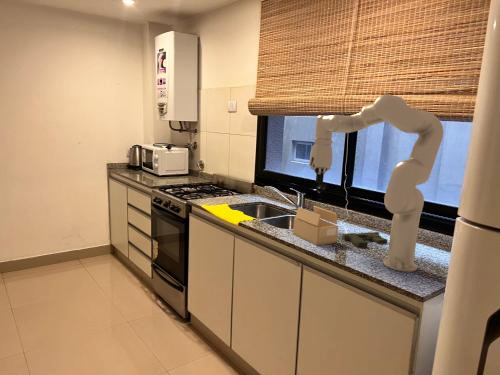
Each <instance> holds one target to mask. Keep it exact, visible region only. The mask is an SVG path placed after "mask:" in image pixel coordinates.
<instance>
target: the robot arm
mask: <svg viewBox="0 0 500 375" xmlns="http://www.w3.org/2000/svg"><path fill="white" fill-rule="evenodd" d="M385 122H386V123H388V124H389V125H391V126H393V127H394V128H396V129H397V130H399V131H401V132H402V133H403V132H404V133H406V134H412V135H413V134H414V135H418V136H417V139H416V140H415V142H414V144H413V147H412V150H411V153H410V156H409V158H408V159H404V160H401V161H400V162H398V163H397V164H396V165H395V167H394V168H393V170H392V172H391V176H390V178H389V180H388V184H387V187H386V191H385V193H384V196H383V199H384V203H383V204H384V206H385V209H386V210H387V211H388V212H389V213H391V214H393V216H392V220H391V227H390V233H389V234H390V237H389V244H388V245H389V246H388V252H387V257H386V258H384V259H382V264H383V266H385V267H386V268H389V269H391V270H395V271H399V272H404V273H408V272H409V273H412V272H415V271H417V270H418V265H417V264H416V263H415V262H414V261H415V252H416V245H417V240H418V239H417V238H418V231H419V227H420V226H419V225H420V218H421V215H422V212H423V208H424V203H425V200H424V199H425V198H424V197H425V196H424V194H423V193H422V191H421V190H420V189H419V188H418V187H416V186H420V185H422V184H426V182H428V180H429V179H430V177H431V174H432V171H433V168H434V165H435V162H436V159H437V155H438V153H439V150H440V148H441V145H442V141H443V138H444V127H443V124H442V123H443V122H441V120H440V119H439V118H438V117H437V116H436V115H435V114H433V113H432V112H429V111H426V110H421V109H415V108H413V107H411V106H408V104H407V102H406V100H405V99H404V98H402V97H401V96H398V95H394V94H393V95H392V94H383V95H381V96H379V97H378V98H376V100H375V101H374V102H372V103H369V104H366V105H364V106H363V107H362V108H361V111H360V112H358V113H355V114H351V115H343V114H342V115H341V114H331V115H327V114H326V115H325V114H322V115H318V116H317V117H316V122H315V132H314V133H315V134H314V135H315V136H314V144H313V145H312V147H311V151H310V157H309V161H308V164H309V166H310V170H312V171H314V173H315V174H316V175H315V183H318V184H322V183H324V177H325V174H326V172H327V171H330V170H331V167H332V164H333V147H332V144H333V140H332V138H333V133H339V134H340V133H341V134H350V133H354V132H357V131H361V130H364V129H367V128H369V127H370V126H374V125H378V124H382V123H385Z"/></svg>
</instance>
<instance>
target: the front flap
mask: <svg viewBox="0 0 500 375" xmlns="http://www.w3.org/2000/svg"><path fill="white" fill-rule="evenodd" d="M320 216H321V215H320V214H317V213H314V211H311V210H309V209H305V208H302V207H300V206H298V207H297V211H296V215H295V217H296V218H299V219H301V220H304V221H306V222H308V223H311V224H313V225H316V226H318V224H319V220H320V219H321V218H320Z"/></svg>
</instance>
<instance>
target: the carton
mask: <svg viewBox="0 0 500 375" xmlns="http://www.w3.org/2000/svg"><path fill="white" fill-rule="evenodd" d="M292 230H293V231H292V233H293V234H292V235H294V236H296V237H298V238H300V239H303V240H304V241H307V242H308V243H311V244H313V245H314V246H321V245H322V246H323V245H328V244H336V243H338V237H339V236H338V234H339V225H338V224H334V223H331V222H329V221H326V220H323V219H321V218H320V220H319V224H318V226H316V225H313V224H311V223H308V222H306V221H304V220H301V219H299V218H296V216H295V218H294V220H293V229H292Z"/></svg>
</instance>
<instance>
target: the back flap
mask: <svg viewBox="0 0 500 375" xmlns="http://www.w3.org/2000/svg"><path fill="white" fill-rule="evenodd" d="M312 207H313V208H312V209H313V212H314V213H317V214H320V215H321V216H320V219H321V220H324V221H326V222H329V223H332V224H334V225H338V216H337V213H336V212H333V211H330V210H327V209H324V208H321V207H319V206H316V205H313V206H312Z"/></svg>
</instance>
